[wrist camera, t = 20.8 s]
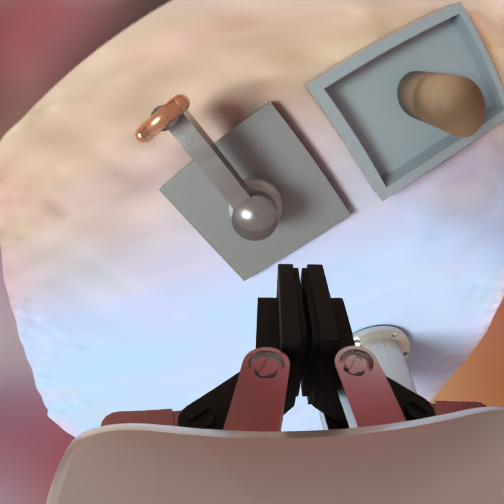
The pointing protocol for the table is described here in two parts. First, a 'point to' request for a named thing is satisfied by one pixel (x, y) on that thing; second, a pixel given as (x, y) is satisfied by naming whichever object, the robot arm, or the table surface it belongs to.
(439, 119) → the block
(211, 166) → the crank
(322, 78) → the tray
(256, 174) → the crank base
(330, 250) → the table surface
